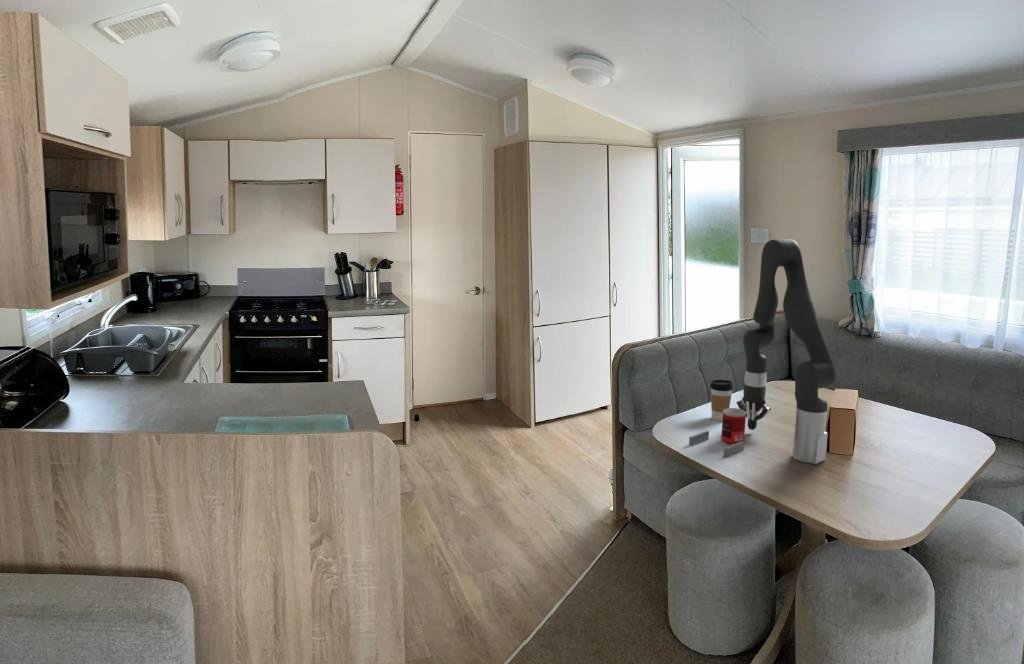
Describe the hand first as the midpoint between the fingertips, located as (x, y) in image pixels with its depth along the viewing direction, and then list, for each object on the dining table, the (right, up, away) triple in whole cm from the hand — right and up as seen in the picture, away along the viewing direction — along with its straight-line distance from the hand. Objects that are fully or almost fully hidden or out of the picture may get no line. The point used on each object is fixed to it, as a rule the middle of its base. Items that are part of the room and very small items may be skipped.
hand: (751, 428), depth 256 cm
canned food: (-9, -3, -7) cm, 12 cm away
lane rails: (-17, -5, -13) cm, 22 cm away
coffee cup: (-7, +2, +16) cm, 18 cm away
